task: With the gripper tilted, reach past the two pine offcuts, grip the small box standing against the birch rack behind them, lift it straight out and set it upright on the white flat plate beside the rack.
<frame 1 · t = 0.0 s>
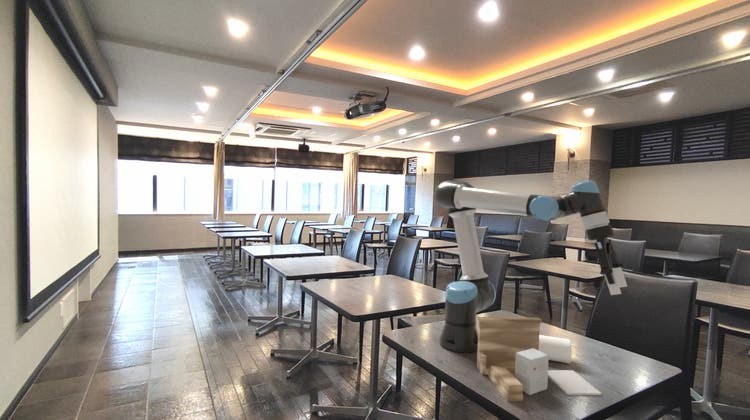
hand: (619, 290, 116), 28 cm above the table, tool tilted 20°, fingers open, 13 cm apart
upper pine offcut: (505, 382, 107), point 2 cm above the table, touching lower pine offcut
small box: (530, 388, 108), on the table
birch rack: (507, 368, 120), on the table
white flat plate: (570, 382, 112), on the table
lower pine offcut: (504, 389, 108), on the table, touching upper pine offcut
white rounded block: (553, 358, 130), on the table
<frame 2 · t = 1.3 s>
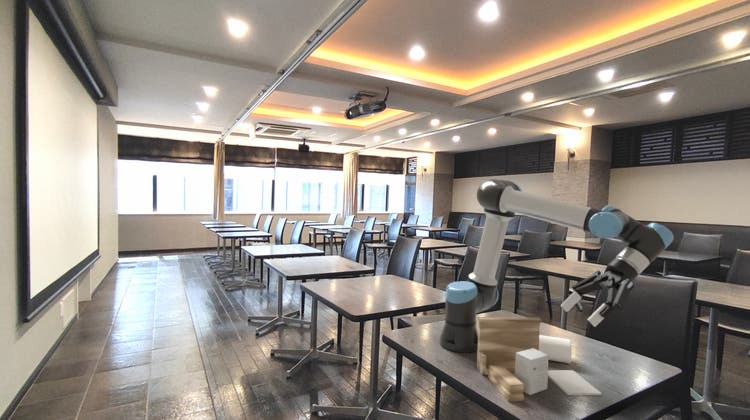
hand: (576, 315, 108), 22 cm above the table, tool tilted 45°, fingers open, 13 cm apart
nothing on the table moved.
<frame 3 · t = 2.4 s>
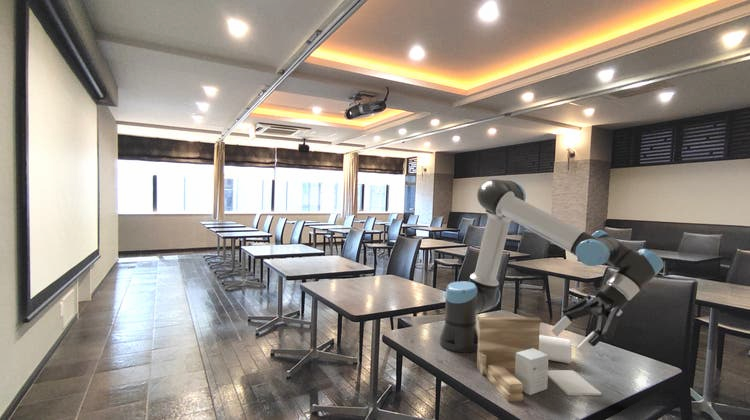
hand: (566, 341, 108), 14 cm above the table, tool tilted 45°, fingers open, 13 cm apart
nothing on the table moved.
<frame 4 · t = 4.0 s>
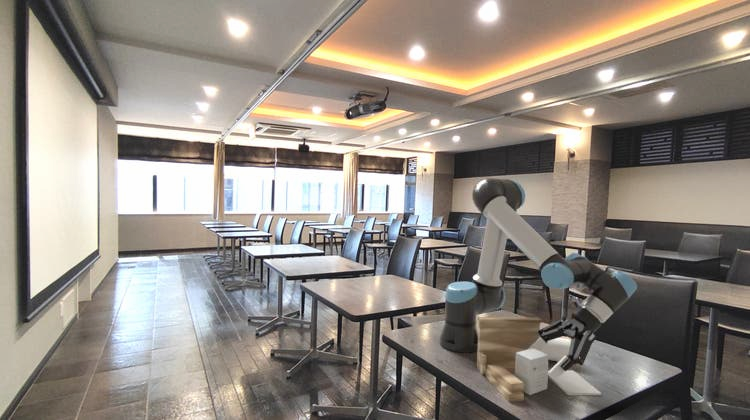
hand: (539, 364, 107), 7 cm above the table, tool tilted 45°, fingers open, 13 cm apart
nothing on the table moved.
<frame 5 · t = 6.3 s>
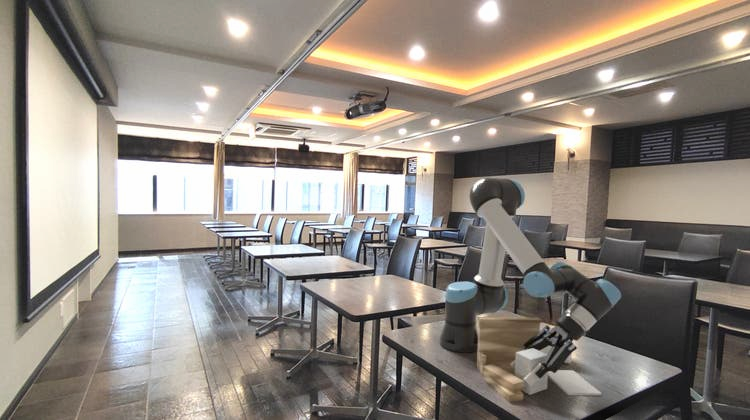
hand: (520, 375, 108), 4 cm above the table, tool tilted 45°, fingers closed on small box, 8 cm apart
small box: (530, 388, 108), on the table, touching gripper
when the fingers open (6 cm above the table, at t = 12.6 s): small box drops 1 cm, resting on white flat plate.
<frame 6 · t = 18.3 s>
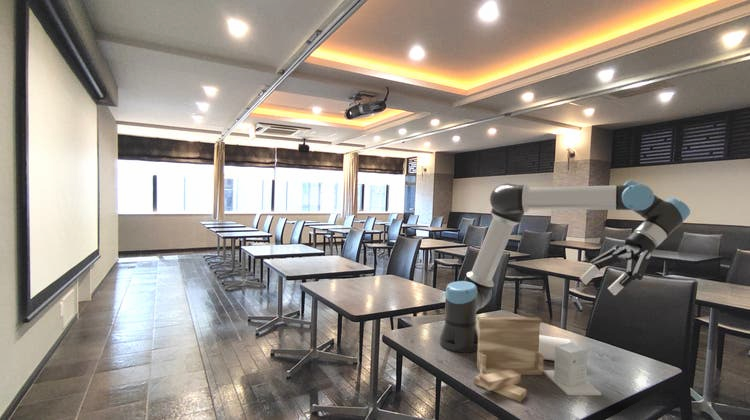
hand: (596, 286, 113), 30 cm above the table, tool tilted 45°, fingers open, 13 cm apart
upper pine offcut: (499, 383, 107), point 2 cm above the table, touching lower pine offcut
small box: (569, 381, 112), resting on white flat plate
lower pine offcut: (499, 391, 107), on the table, touching upper pine offcut
everything else where it was.
at the end: small box inside the target area on the white flat plate (0.3 cm from its centre), point 0.4 cm above the white flat plate's base; small box tilted 0°; the gripper is holding nothing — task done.
